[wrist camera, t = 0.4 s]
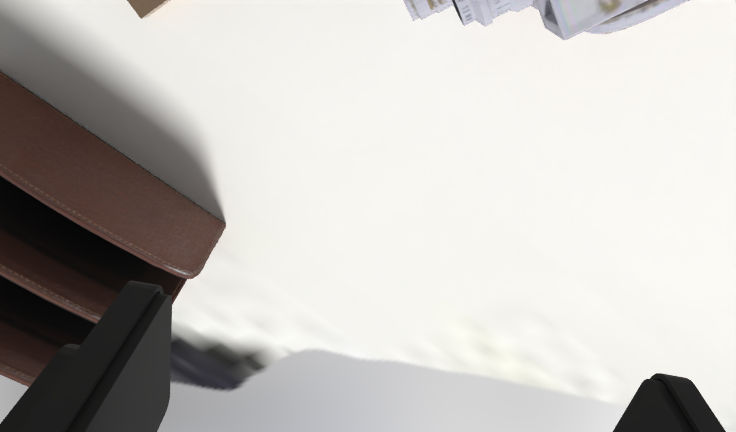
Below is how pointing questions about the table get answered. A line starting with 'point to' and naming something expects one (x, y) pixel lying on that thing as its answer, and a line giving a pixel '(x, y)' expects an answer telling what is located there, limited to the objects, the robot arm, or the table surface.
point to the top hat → (146, 6)
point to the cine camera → (553, 12)
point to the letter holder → (79, 231)
